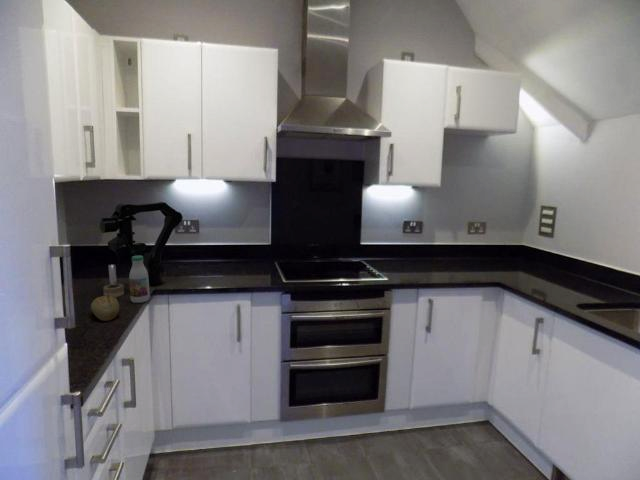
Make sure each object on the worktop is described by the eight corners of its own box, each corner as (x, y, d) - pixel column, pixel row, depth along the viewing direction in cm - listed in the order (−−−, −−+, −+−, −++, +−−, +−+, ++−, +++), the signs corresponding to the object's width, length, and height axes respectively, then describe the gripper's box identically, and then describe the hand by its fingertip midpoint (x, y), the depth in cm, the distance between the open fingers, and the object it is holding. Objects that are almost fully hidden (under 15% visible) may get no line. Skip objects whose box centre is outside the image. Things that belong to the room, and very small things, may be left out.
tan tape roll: (115, 291, 191) (114, 282, 190) (127, 293, 188) (127, 285, 187) (100, 296, 183) (99, 287, 183) (113, 298, 180) (112, 289, 180)
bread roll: (113, 308, 169) (111, 289, 167) (124, 318, 158) (123, 299, 157) (87, 313, 163) (85, 294, 161) (97, 324, 152) (95, 304, 150)
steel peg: (114, 293, 187) (112, 264, 185) (119, 294, 186) (116, 264, 184) (109, 295, 185) (106, 265, 182) (113, 296, 184) (111, 266, 181)
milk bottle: (134, 297, 182) (131, 254, 178) (152, 297, 183) (149, 254, 179) (128, 303, 174) (124, 258, 171) (146, 303, 175) (143, 258, 171)
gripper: (96, 231, 185) (99, 264, 188) (126, 234, 178) (128, 269, 180) (116, 228, 195) (119, 259, 198) (146, 231, 188) (148, 263, 191)
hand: (128, 263), depth 191 cm, fingers open, 9 cm apart
